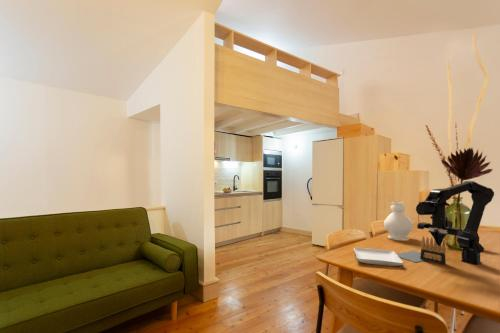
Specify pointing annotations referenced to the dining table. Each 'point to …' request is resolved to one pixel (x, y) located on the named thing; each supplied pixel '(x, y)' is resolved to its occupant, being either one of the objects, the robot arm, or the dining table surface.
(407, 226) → the decorative vase
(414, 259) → the mat
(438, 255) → the ammunition clip
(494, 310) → the dining table surface
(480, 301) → the dining table surface
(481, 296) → the dining table surface
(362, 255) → the salad plate
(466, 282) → the dining table surface
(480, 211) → the robot arm
